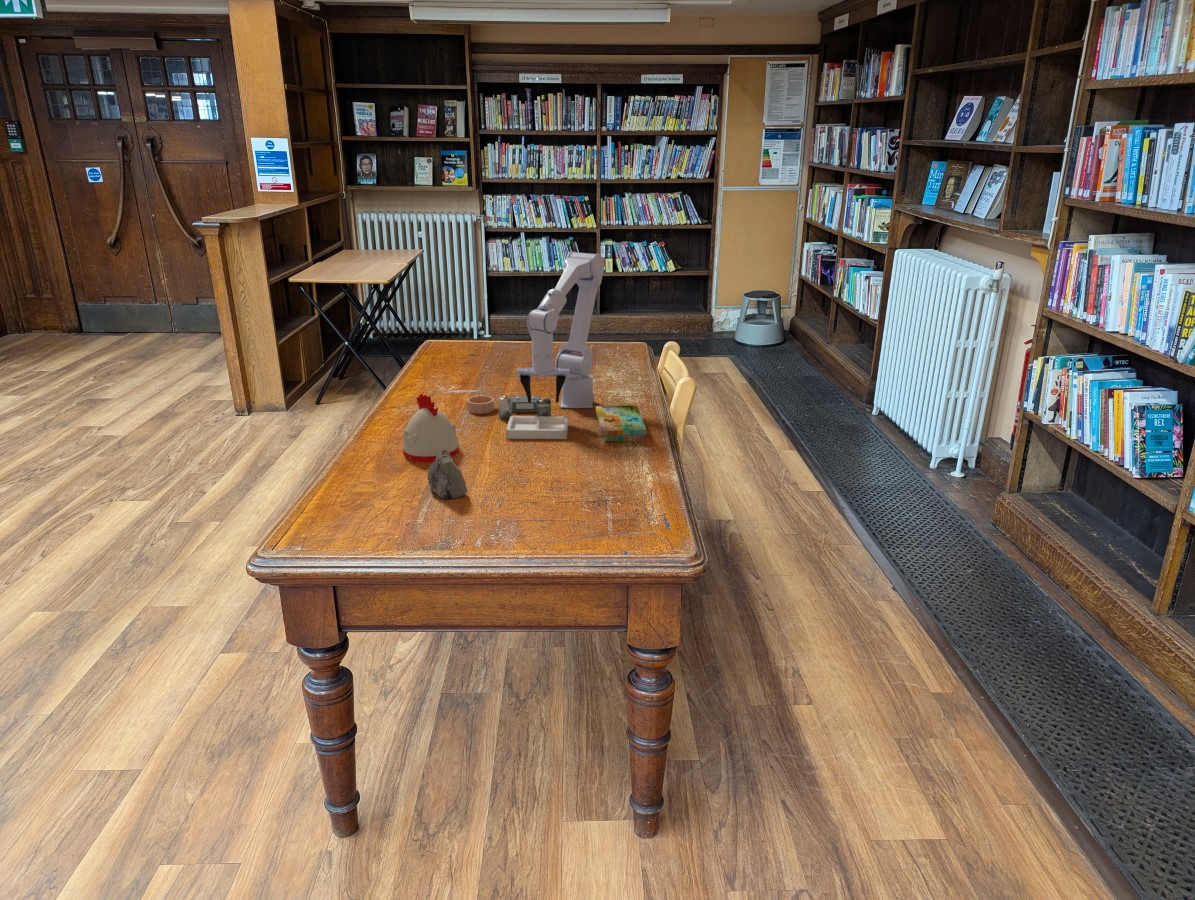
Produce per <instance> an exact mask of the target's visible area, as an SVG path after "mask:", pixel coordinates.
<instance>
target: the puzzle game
mask: <svg viewBox="0 0 1195 900" xmlns="http://www.w3.org/2000/svg"><path fill="white" fill-rule="evenodd" d="M595 413H596V418H597V422H598V427H599V430H600V436H601V437H602V439H603V440H604V442H606V441H614V442H641V441H642V440H643V439H644V438H645V437H646V435H647V428H646V425H645V423H644V420H643V417H642V415H641V412H640V409H639V407H638V405H637V404H626V405H625V404H624V405H619V404H618V405H595ZM633 440H634V441H633Z"/></svg>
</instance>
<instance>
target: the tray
mask: <svg viewBox="0 0 1195 900" xmlns="http://www.w3.org/2000/svg"><path fill="white" fill-rule="evenodd" d="M507 422H508V423H507V425H506V429H505V439H508V440H510V439H511V440H514V439H515V440H518V439H519V440H521V439H522V440H530V439H531V440H535V439H536V440H537V439H538V440H567V439H568V432H569V416H560V415H559V416H556V415H555V416H552V415H551V416H537V415H536V416H534V415H533V416H532V415H530V416H528V415H524V416H523V415H522V416H521V415H519V416H518V415H513V416H510V419H509V420H508V421H507Z"/></svg>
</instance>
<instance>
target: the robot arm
mask: <svg viewBox="0 0 1195 900" xmlns="http://www.w3.org/2000/svg"><path fill="white" fill-rule="evenodd" d="M563 264H564V268H563V269H564V270H563V273H562V274H561V276H560V278H559V280H558V282H556V283H557V284H556V285H555V287H554V288H552V289H549V290H548V291H547V293H546V294H545V295H544V297H543V299H542V300H541V301H540V304H539V305H538V307H537V308H536V309H535V308H534V309H533V310H531V311H529V313H528V315H527V320H526V326H527V329H528V331H529V336H530V337H531V361H532V363H531V364H532V367H524V368H522V367H521V368H516V370H515V375H516V378H520V379H519V381H520V384H521V386H522V387H523V389H524V391H525V394H526V395H525V396H527V398H528V402H531V396H532V391H531V377H536V378H537V377H539V378H541V377H544V378H545V377H551V378H552V377H553V378H554V377H555V378H556V379H555V387H556V389H555V391H556V392H555V393H556V394H555V404H557V403H559V400H560V399H561V400H560V406H559V408H560V409H593V407H594V406H593V405H594V404H593V403H594V401H595V394H594V377H593V376H594V375H590V374H591V372H592V370H593V365H594V363H593V356H594V352H593V350H592V349H591V348H590V347H589V346H588V345H587V341H588V337H589V332H590V327H591V322H592V317H593V312H594V307H595V303H596V299H597V298H596V296H597V294H598V287H599V286H601V284H602V280H603V274H604V270H605V263H604V258H603V257H602V255H601V254H600V253H588V252H587V253H586V252H576V251H570V252H568V253H567V256H566V257H565V259H564V263H563ZM575 284H577V287H578V293H577V298H576V302H575V308H574V314H573V318H572V322H571V327H570V333H569V338H568V340H567V341H566V342H564V343H563V344H561V345H560V346H559V350H558V353H557V355H556V357H555V361H554V336H553V333H554V331H556V328H557V326H558V320H559V317H560V316H559V314H560V313H561V312H562V310H563V308H564V307H565V305H566V303H567V301H568V300H567V297H566V295H567V294H568V293H569V292H570V290H571V289H572V288H573V287H574V285H575ZM554 362H555V363H554ZM554 366H555V367H554ZM560 394H561V398H560Z"/></svg>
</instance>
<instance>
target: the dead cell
mask: <svg viewBox="0 0 1195 900" xmlns="http://www.w3.org/2000/svg"><path fill="white" fill-rule="evenodd" d="M512 397H513V396H512V395H506V394H505V395H500V396H498V397H497V410H498V411H497V412H498V419H499V420H500V419H501V421H509V419H510V416H514V412H513V408H512Z"/></svg>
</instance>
